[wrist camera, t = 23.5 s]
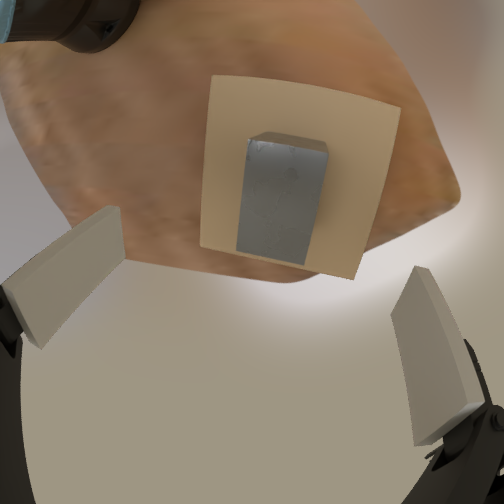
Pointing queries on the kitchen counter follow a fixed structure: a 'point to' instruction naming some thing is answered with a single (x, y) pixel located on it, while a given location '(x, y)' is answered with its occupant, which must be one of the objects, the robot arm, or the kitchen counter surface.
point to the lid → (308, 126)
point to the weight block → (280, 195)
